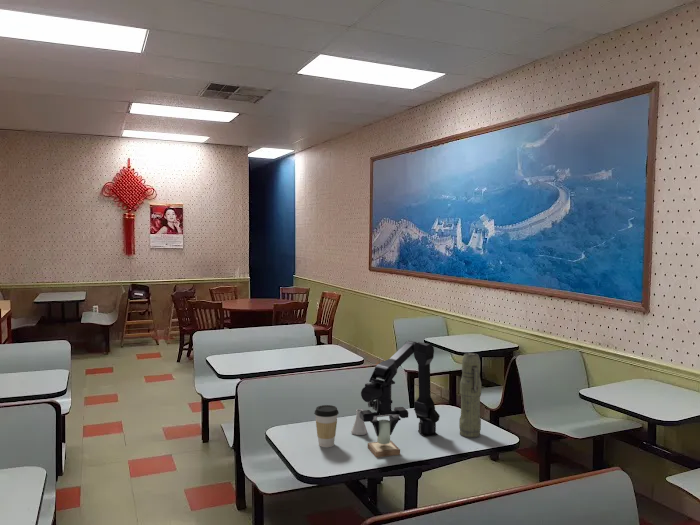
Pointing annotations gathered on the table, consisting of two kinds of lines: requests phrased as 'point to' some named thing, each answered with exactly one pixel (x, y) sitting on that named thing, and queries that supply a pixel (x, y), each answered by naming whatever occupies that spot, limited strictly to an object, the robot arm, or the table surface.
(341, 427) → the table surface
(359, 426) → the flask
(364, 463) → the table surface
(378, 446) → the plinth
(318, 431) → the coffee cup
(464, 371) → the stone statue
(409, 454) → the table surface
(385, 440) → the sage capsule
